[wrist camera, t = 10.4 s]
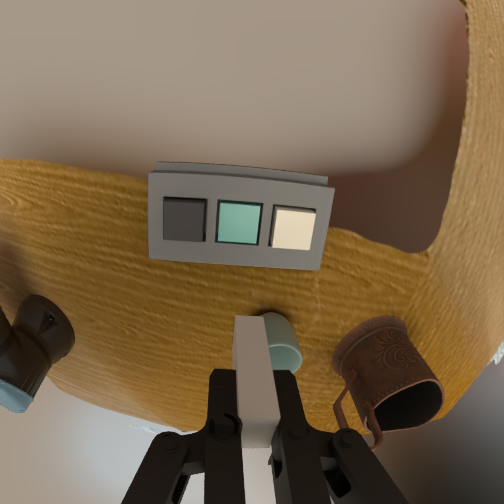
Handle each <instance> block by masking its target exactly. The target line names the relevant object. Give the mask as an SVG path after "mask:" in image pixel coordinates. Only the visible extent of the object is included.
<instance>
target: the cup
mask: <svg viewBox="0 0 504 504" xmlns="http://www.w3.org/2000/svg"><path fill="white" fill-rule="evenodd" d="M260 317H263V318H264V324H265V330H266V336H267V341H268V347H269V353H270V359H271V365H272V370H290V371H291V372H292V374H293V373H294V372H295V371H297V370H298V369H299V367H300V366H301V364H302V353H301V349H300V346H299V343H298V339H297V336H296V334H295V331H294V329H293V327H292V325H291V324H290V322H289V321H288V320H287V319H286V318H285V317H284V316H282V315H280V314H278V313H275V312H268V313H264V314H262V315H260Z"/></svg>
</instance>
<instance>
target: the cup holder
mask: <svg viewBox="0 0 504 504" xmlns="http://www.w3.org/2000/svg"><path fill="white" fill-rule="evenodd" d="M332 366H333V369H334V371H335V372H336V373H337V374H338V375H340V376H342V377H343V379H344V380H345V382H346V384H347V386H346V387H345V389H344V390H343V392H342V393H341V395H340V396H339V398H338V399H337V400H336V402H335V403H334V405H333V410H334V413H335V416H336V419H337V422H338V425H339V428H340V429H343V428H349V426H348V424H347V421H346V418H345V416H344V413H343V410H342V407H341V400H342V399H343V397H344V396H345V394H346V392H347V391H348V389H349V391H350V394H351V396H352V399H353V401H354V404H355V406H356V409H357V411H358V414H359V416H360V419H361V421H362V424H363V426H364V429H365V430H366V431H367V432H370V433H372V434H373V436H374V438H375V444H374V446H372V447H370V449H371V450H372V452H373V451H374V450H375V449H376V448H378V446H380V445H381V444H382V441H383V435H382V433H384V432H391V431H397V430H406V429H412V428H417V427H420V426H422V425H424V424H426V423H428V422H430V421H431V420H432V419H433V418H434V417H435V416H436V415H437V414H438V413H439V412H440V411H441V409H442V407H443V404H444V401H445V397H444V390H443V388H442V385H441V383H440V382H439V380H438V379H437V377H436V376H435V375H434V373H433V372H432V370H431V369H430V367H429V366H428V365H427V363H426V362H425V360H424V359H423V358H422V356H421V355H420V354H419V352H418V351H417V349H416V348H415V347H414V345H413V344H412V343H411V341H410V340H409V339H408V336H407V328H406V326H405V323H404V322H403V321H402V320H401V319H400V318H397V317H394V316H380V317H376V318H372V319H370V320H368V321H365V322H363V323H361V324H360V325H358V326H357V327H355V328H354V329H352V330H351V331H350V332H349V333H348V334H347V335H346V336H345V337H344V338H343V339H342V340H341V341H340V343H339V344H338V345H337V347H336V349H335V351H334V354H333V357H332Z"/></svg>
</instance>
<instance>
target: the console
mask: <svg viewBox="0 0 504 504" xmlns="http://www.w3.org/2000/svg"><path fill="white" fill-rule="evenodd" d="M148 175H149V176H148V244H149V259H159V260H172V261H185V262H199V263H213V264H227V265H242V266H257V267H273V268H289V269H306V270H319V269H320V264H321V259H322V255H323V250H324V245H325V240H326V235H327V230H328V224H329V219H330V214H331V208H332V202H333V196H334V190H335V188H333V187H331V186H329V185H327V180H328V177H326V176H322V175H315V174H308V173H301V172H293V171H285V170H277V169H268V168H259V167H248V166H237V165H225V164H209V163H190V162H189V163H188V162H156V170H154V171H151V172H149V173H148ZM168 197H182V198H200V199H206V208H205V226H204V237H203V240H202V242H188V241H174V240H164V201H165V200H166V199H167V198H168ZM221 200H234V201H246V202H258V203H259V204H260V215H259V223H258V232H257V241H256V244H255V243H241V242H227V241H218V231H219V216H220V203H221ZM274 204H275V205H285V206H294V207H304V208H310V209H311V210H312V211H313V212H315V213H316V216H315V222H314V228H313V233H312V239H311V244H310V250H298V249H285V248H272V245H271V243H270V240H269V239H270V231H271V223H272V216H273V208H274Z"/></svg>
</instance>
